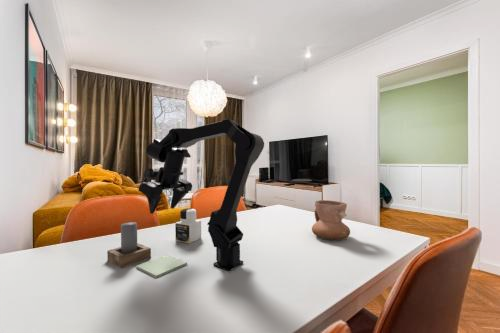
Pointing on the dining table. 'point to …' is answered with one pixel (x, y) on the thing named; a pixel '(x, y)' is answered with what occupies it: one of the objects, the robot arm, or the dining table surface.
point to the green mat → (161, 265)
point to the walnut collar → (128, 256)
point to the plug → (128, 237)
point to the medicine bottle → (188, 226)
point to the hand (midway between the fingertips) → (162, 210)
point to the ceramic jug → (330, 220)
